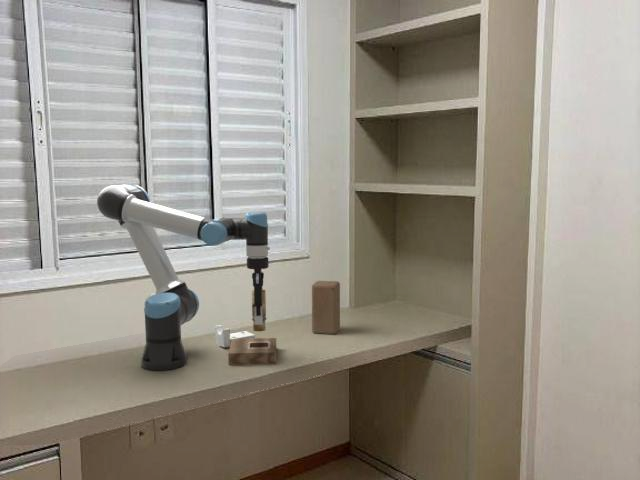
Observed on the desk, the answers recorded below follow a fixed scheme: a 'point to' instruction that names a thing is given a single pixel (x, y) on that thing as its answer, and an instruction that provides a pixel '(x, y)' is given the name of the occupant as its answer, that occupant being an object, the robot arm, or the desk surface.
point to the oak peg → (262, 327)
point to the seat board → (252, 351)
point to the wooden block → (326, 307)
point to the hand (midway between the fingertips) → (259, 322)
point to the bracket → (229, 336)
